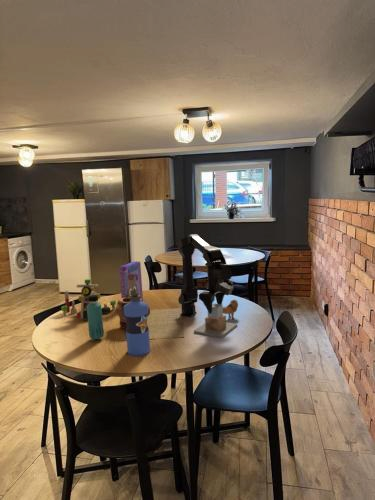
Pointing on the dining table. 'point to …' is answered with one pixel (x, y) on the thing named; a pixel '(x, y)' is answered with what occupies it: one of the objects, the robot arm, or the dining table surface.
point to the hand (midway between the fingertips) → (215, 310)
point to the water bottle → (137, 325)
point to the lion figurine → (231, 308)
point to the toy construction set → (85, 301)
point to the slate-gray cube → (216, 311)
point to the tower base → (216, 333)
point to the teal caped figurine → (95, 318)
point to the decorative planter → (120, 311)
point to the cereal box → (130, 279)
